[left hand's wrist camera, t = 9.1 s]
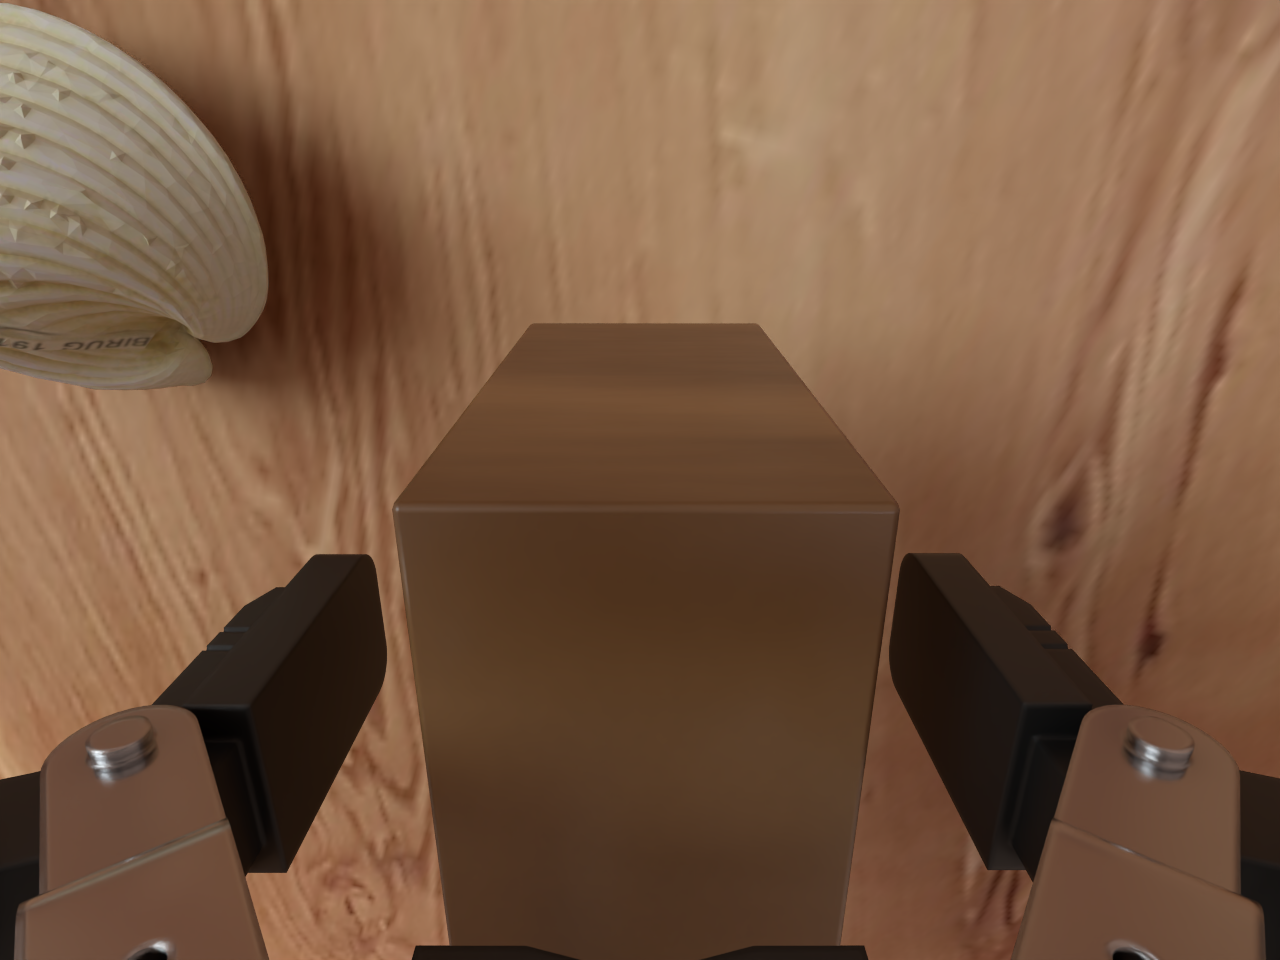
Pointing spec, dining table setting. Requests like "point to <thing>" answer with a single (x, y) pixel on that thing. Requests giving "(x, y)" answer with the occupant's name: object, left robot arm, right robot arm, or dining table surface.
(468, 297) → the dining table surface
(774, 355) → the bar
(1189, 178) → the dining table surface
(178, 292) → the seashell
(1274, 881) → the left robot arm
